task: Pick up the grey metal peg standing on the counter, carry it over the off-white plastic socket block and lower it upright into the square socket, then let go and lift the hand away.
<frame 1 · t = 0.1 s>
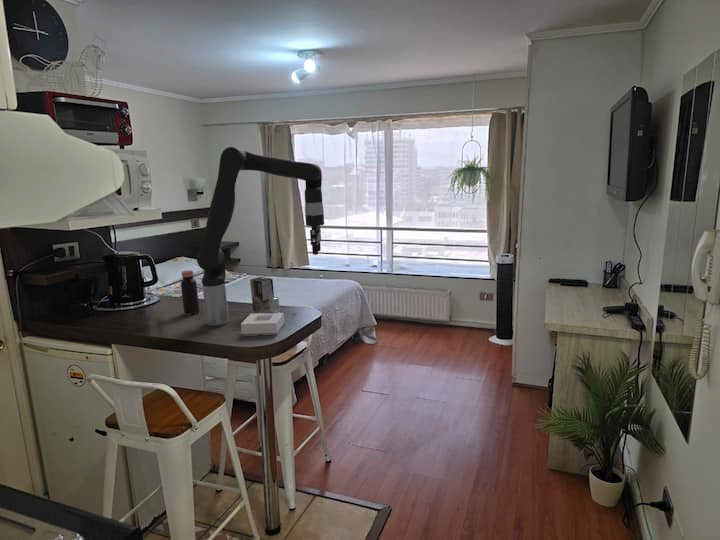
hand: (316, 252, 192), 29 cm above the worktop, tool pointing down, fingers open, 8 cm apart
bottle: (192, 313, 217), on the worktop
coffee box: (264, 313, 212), on the worktop
peg: (275, 320, 200), on the worktop
socket block: (264, 329, 188), on the worktop
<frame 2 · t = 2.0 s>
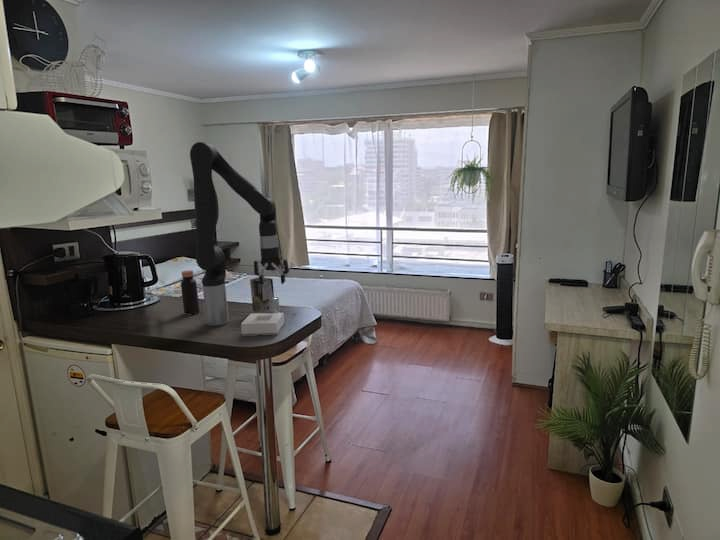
hand: (272, 283, 196), 16 cm above the worktop, tool pointing down, fingers open, 8 cm apart
nothing on the worktop moved.
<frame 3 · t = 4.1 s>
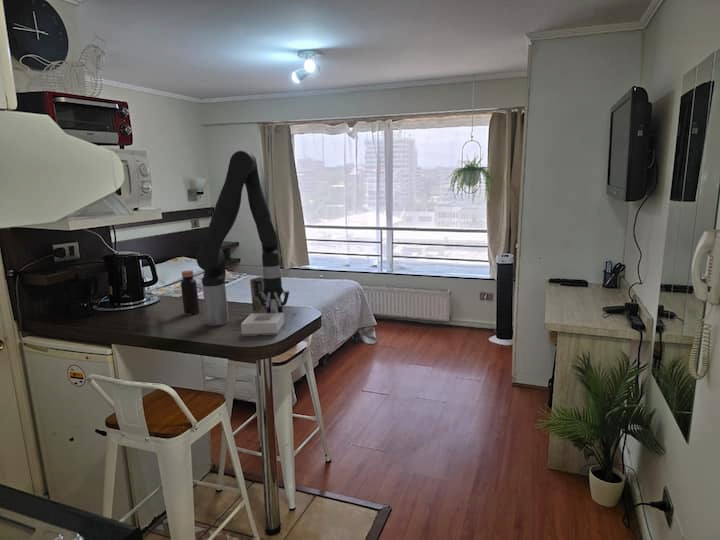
hand: (275, 314, 199), 3 cm above the worktop, tool pointing down, fingers closed on peg, 4 cm apart
peg: (275, 320, 200), on the worktop, touching gripper
everything else where it was.
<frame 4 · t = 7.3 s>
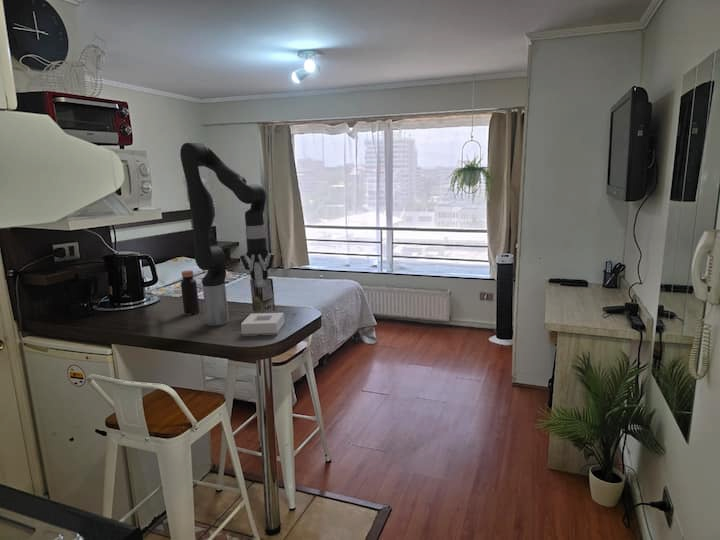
hand: (259, 279, 184), 21 cm above the worktop, tool pointing down, fingers closed on peg, 4 cm apart
peg: (260, 286, 184), point 18 cm above the worktop, touching gripper
everything else where it was.
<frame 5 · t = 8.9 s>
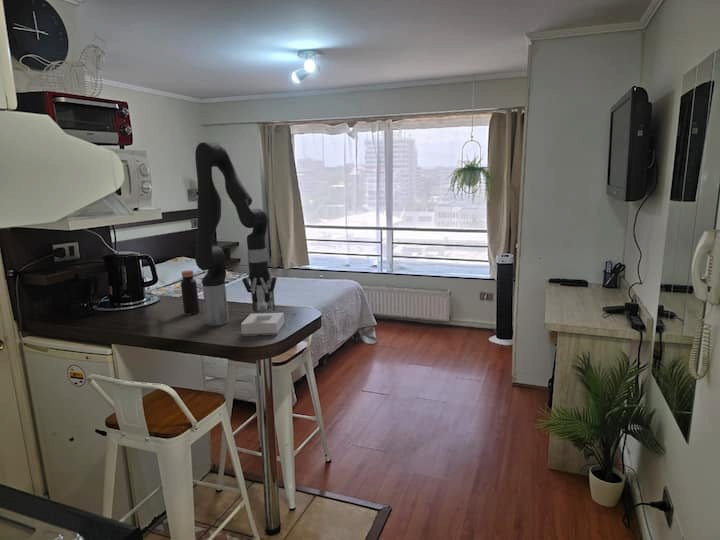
hand: (261, 301, 186), 12 cm above the worktop, tool pointing down, fingers closed on peg, 4 cm apart
peg: (262, 308, 186), point 9 cm above the worktop, touching gripper
everything else where it was.
when the fingers open (6 cm above the worktop, at t = 10.4 s): peg drops 2 cm, resting on socket block.
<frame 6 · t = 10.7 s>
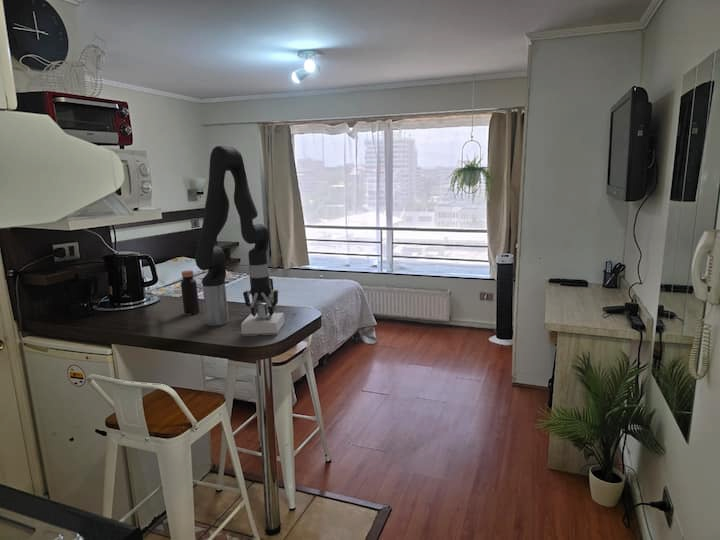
hand: (262, 315, 187), 6 cm above the worktop, tool pointing down, fingers open, 6 cm apart
peg: (263, 327, 188), point 1 cm above the worktop, touching socket block
everything else where it was.
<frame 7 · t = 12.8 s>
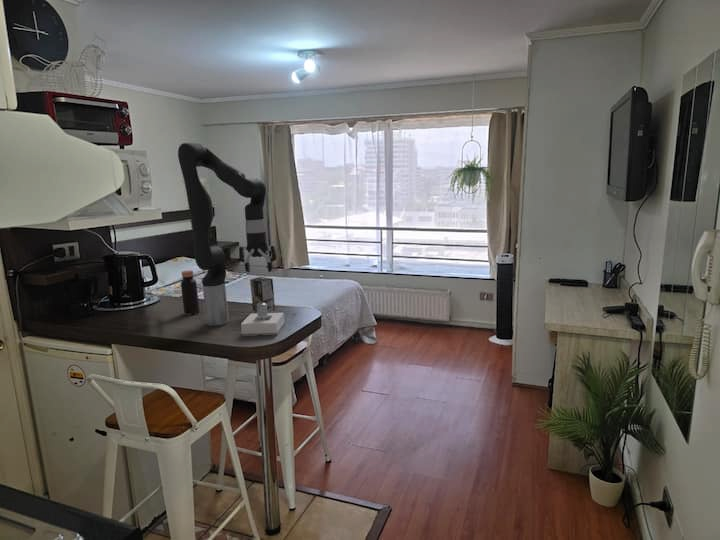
hand: (259, 271, 183), 24 cm above the worktop, tool pointing down, fingers open, 8 cm apart
nothing on the worktop moved.
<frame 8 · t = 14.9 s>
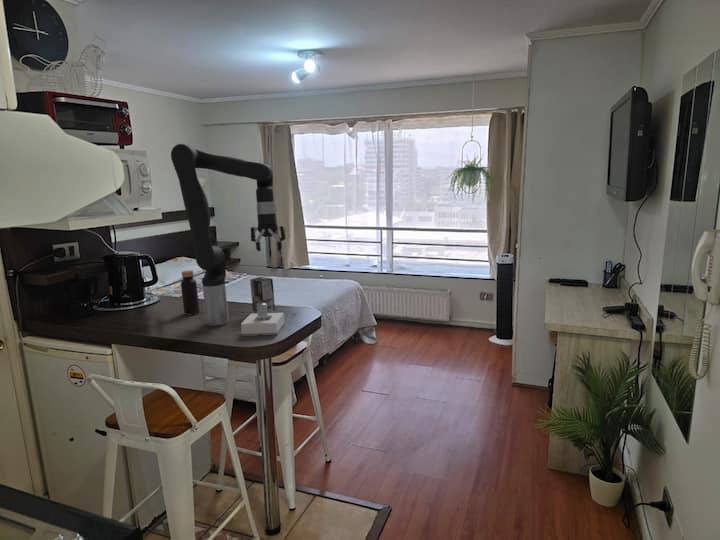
hand: (269, 250, 197), 30 cm above the worktop, tool pointing down, fingers open, 8 cm apart
nothing on the worktop moved.
at the end: peg 0.1 cm off-centre on the socket block, point 1.0 cm above the socket block's base; peg tilted 0°; the gripper is holding nothing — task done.
